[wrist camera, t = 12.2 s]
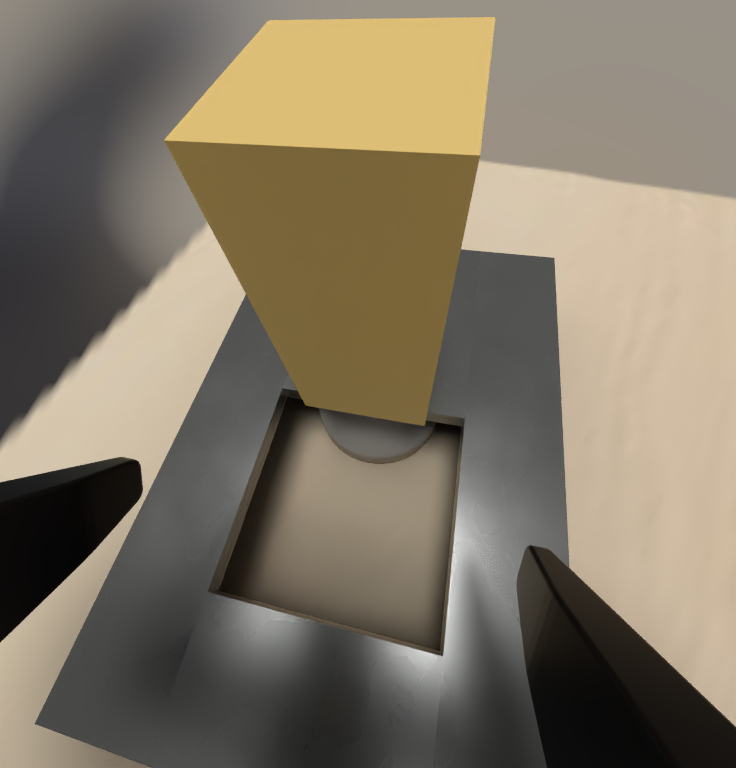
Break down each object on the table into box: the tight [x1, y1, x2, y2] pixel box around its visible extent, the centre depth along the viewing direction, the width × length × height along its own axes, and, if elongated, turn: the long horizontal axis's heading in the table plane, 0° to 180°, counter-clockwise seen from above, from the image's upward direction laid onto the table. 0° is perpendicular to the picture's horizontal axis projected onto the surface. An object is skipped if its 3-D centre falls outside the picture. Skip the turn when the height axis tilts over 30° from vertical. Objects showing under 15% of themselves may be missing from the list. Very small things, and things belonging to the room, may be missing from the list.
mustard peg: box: [164, 17, 495, 463], centre depth 11 cm, size 6×6×13 cm
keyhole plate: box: [35, 250, 569, 768], centre depth 14 cm, size 20×14×3 cm
